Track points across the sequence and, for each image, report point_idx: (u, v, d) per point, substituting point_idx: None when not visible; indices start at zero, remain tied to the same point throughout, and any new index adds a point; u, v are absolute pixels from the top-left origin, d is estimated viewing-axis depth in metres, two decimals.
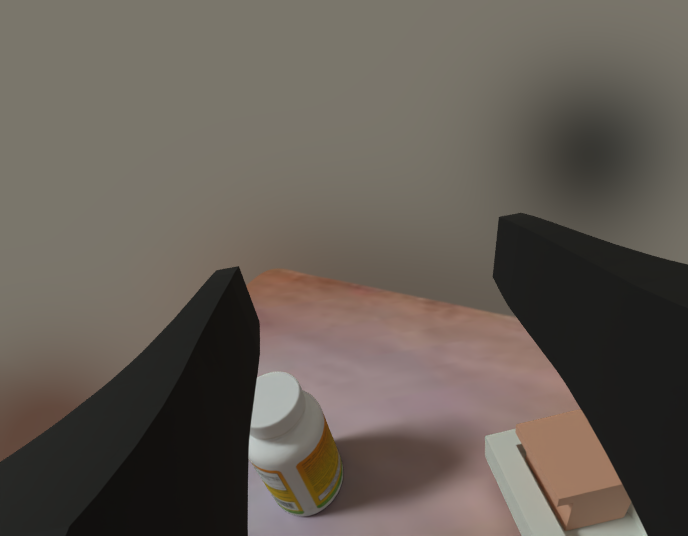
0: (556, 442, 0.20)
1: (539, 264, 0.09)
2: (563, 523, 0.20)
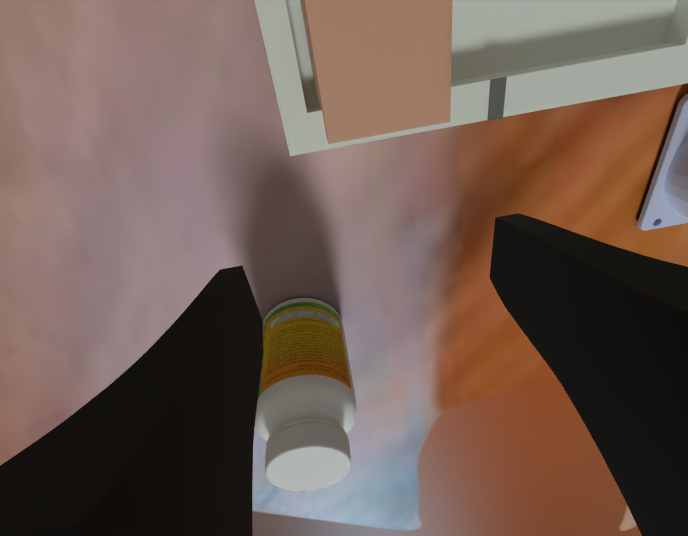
0: (367, 87, 0.11)
1: (534, 264, 0.09)
2: None
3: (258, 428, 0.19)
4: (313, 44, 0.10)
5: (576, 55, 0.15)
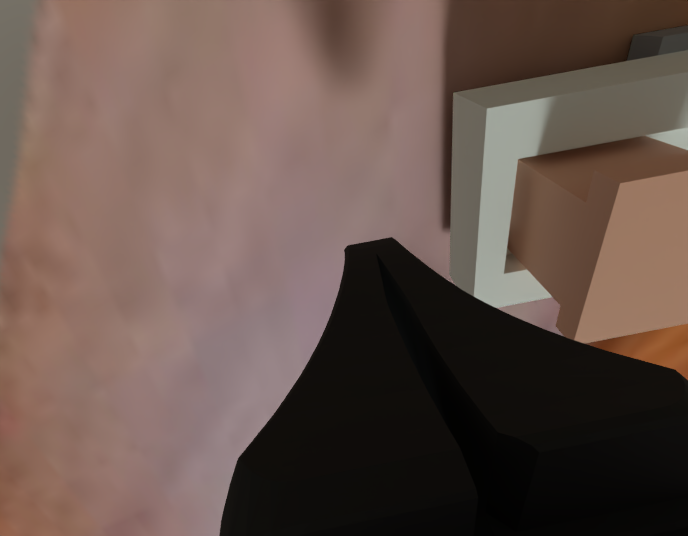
0: (638, 296, 0.10)
1: (388, 292, 0.08)
2: None
3: None
4: (597, 263, 0.09)
5: None
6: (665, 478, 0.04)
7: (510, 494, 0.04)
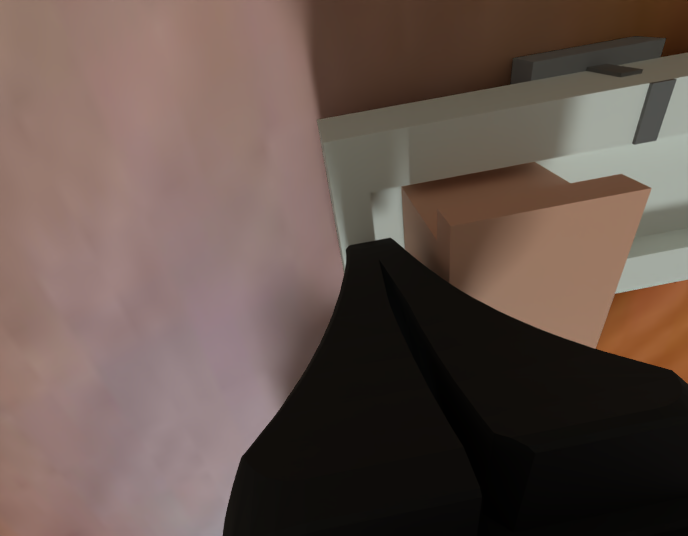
0: None
1: (387, 293, 0.08)
2: None
3: None
4: None
5: None
6: (662, 479, 0.04)
7: (507, 495, 0.04)
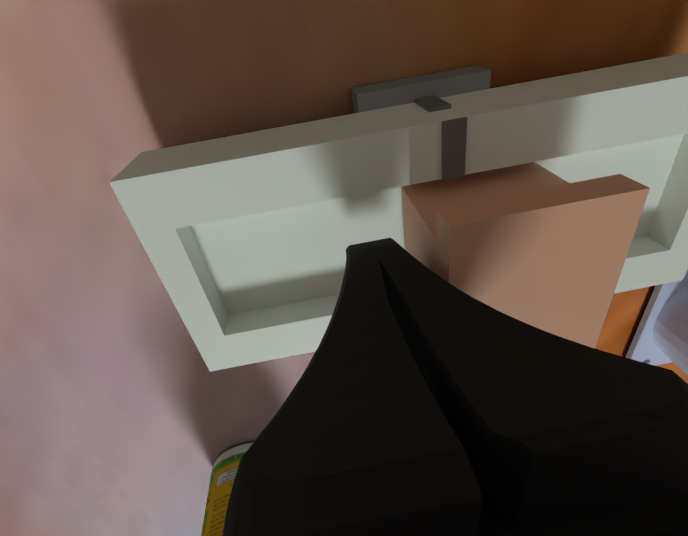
0: None
1: (387, 293, 0.08)
2: None
3: None
4: None
5: None
6: (662, 479, 0.04)
7: (506, 495, 0.04)
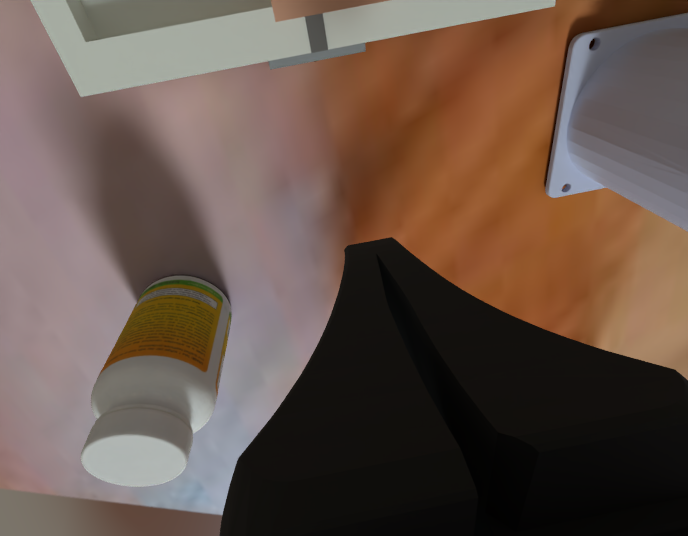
0: None
1: (388, 292, 0.08)
2: None
3: (95, 416, 0.17)
4: None
5: None
6: (665, 478, 0.04)
7: (510, 494, 0.04)
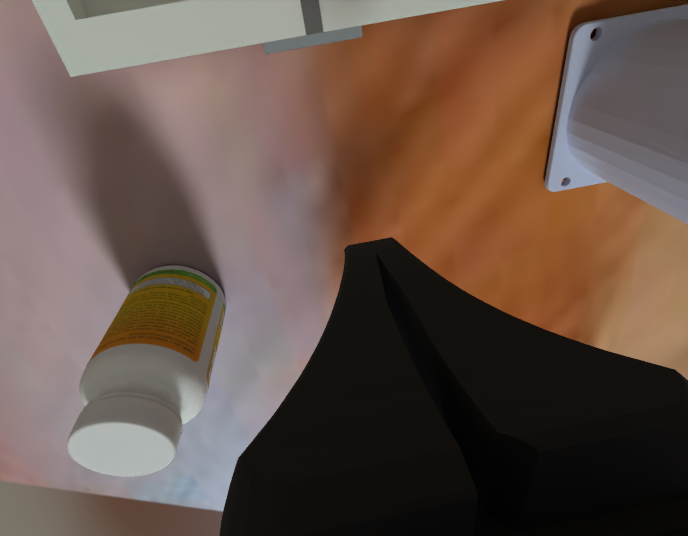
0: None
1: (388, 292, 0.08)
2: None
3: (84, 405, 0.17)
4: None
5: None
6: (665, 478, 0.04)
7: (510, 494, 0.04)
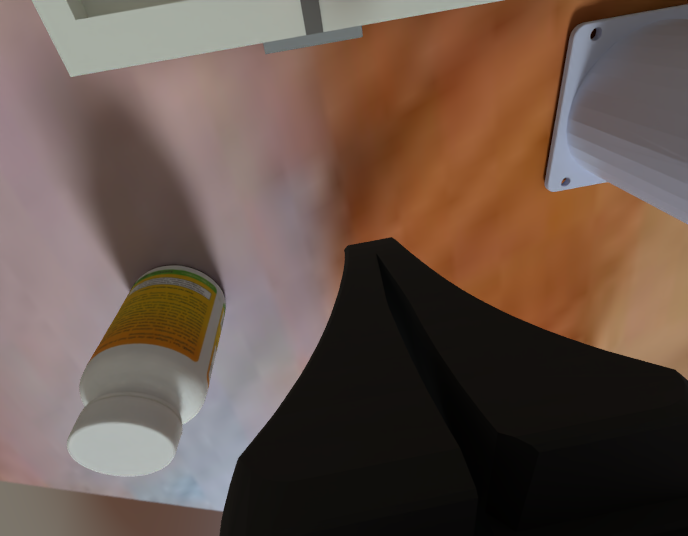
0: None
1: (388, 292, 0.08)
2: None
3: (84, 405, 0.17)
4: None
5: None
6: (665, 478, 0.04)
7: (510, 494, 0.04)
